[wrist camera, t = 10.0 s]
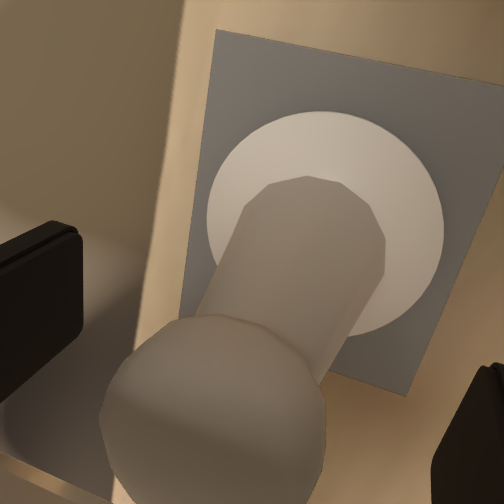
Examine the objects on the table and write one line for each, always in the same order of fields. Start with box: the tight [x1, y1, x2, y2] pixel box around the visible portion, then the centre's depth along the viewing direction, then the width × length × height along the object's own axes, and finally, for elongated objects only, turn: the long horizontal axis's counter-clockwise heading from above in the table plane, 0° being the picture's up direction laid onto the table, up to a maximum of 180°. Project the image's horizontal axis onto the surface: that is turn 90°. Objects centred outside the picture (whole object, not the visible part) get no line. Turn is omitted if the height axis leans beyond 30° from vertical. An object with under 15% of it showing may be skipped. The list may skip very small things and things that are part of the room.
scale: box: [179, 29, 504, 397], centre depth 21 cm, size 14×12×4 cm
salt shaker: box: [98, 176, 386, 504], centre depth 13 cm, size 6×6×13 cm
